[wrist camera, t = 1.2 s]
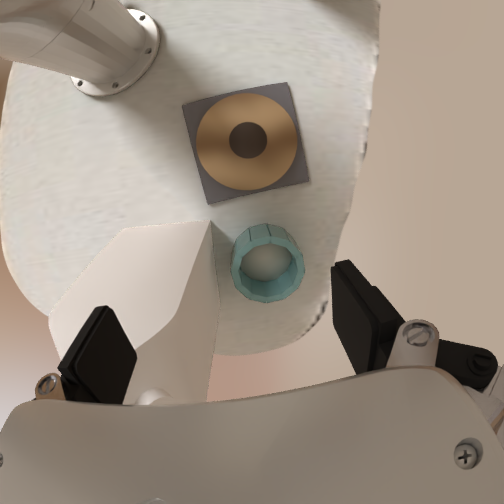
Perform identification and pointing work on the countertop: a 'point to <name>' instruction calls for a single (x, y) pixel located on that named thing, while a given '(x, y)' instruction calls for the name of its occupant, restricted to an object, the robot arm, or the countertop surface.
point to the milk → (153, 307)
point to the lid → (246, 141)
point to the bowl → (266, 263)
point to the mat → (221, 192)
